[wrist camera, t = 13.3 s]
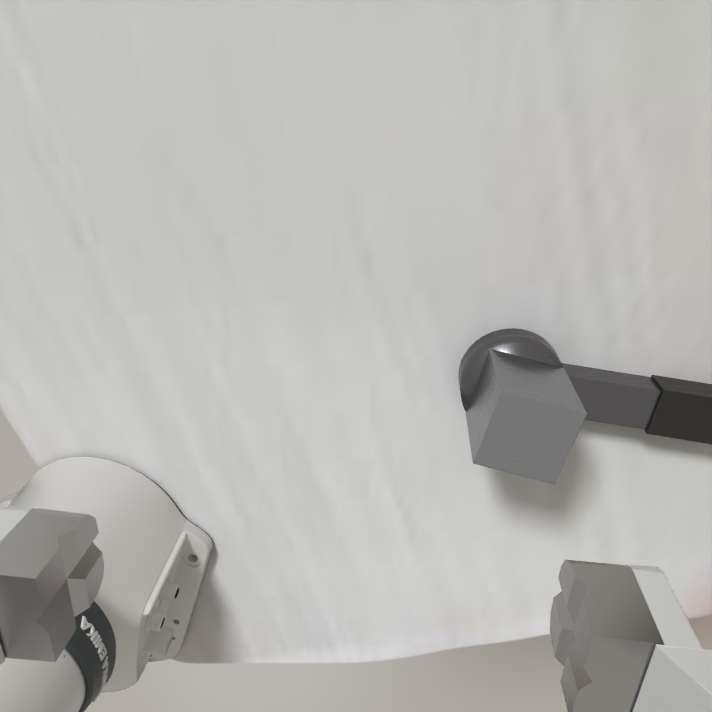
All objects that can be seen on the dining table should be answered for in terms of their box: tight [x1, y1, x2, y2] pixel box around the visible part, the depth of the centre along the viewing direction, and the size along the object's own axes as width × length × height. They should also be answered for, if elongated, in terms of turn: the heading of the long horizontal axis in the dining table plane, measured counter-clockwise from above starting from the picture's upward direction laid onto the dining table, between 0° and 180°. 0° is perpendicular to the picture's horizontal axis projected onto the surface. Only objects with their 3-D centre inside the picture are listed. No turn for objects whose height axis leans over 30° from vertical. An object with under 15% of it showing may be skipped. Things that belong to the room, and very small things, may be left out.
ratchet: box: [459, 329, 712, 444], centre depth 40 cm, size 7×19×6 cm, turn 82°
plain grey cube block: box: [466, 349, 587, 484], centre depth 38 cm, size 5×5×6 cm
